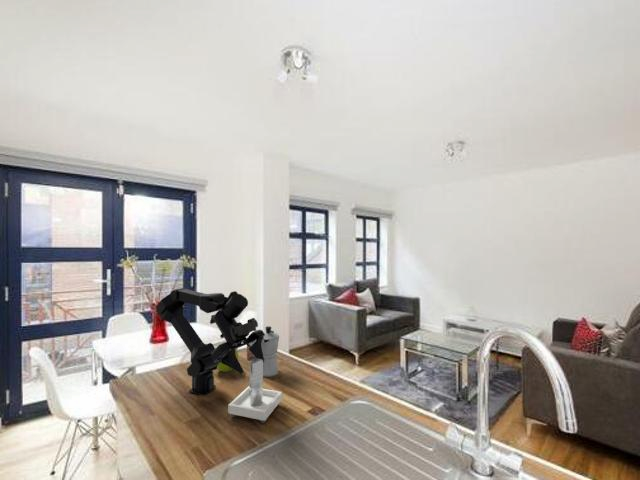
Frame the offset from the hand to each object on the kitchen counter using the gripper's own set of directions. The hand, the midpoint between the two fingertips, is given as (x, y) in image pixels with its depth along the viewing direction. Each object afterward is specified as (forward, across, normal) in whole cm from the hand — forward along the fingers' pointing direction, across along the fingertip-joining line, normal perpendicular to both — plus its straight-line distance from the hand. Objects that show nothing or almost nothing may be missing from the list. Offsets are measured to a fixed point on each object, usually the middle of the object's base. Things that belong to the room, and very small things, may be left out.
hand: (253, 367), depth 97 cm
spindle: (+8, 0, +7) cm, 11 cm away
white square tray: (+10, 0, +8) cm, 13 cm away
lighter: (-10, +31, +29) cm, 43 cm away
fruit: (-10, +15, +30) cm, 35 cm away
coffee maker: (0, +24, +20) cm, 31 cm away
